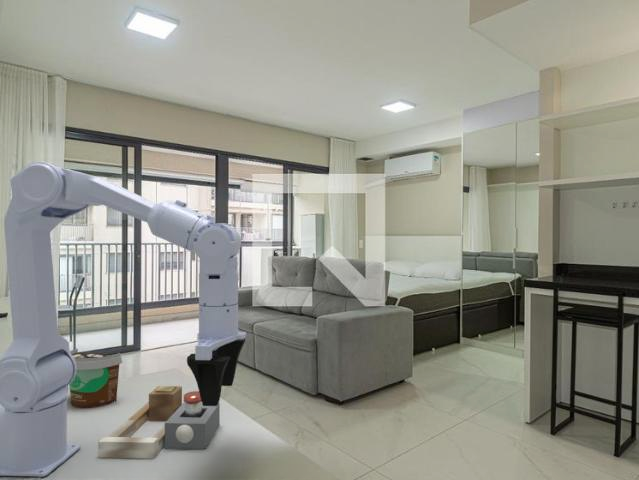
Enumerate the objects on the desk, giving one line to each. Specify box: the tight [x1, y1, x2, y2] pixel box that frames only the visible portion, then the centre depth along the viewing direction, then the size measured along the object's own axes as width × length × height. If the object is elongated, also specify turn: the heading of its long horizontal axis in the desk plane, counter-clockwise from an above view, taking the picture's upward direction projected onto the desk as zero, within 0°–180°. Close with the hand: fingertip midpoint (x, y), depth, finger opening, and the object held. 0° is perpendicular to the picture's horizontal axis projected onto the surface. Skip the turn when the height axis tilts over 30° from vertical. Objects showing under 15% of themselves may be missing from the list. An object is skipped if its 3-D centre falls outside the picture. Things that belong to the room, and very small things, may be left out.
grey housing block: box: [164, 402, 221, 450], centre depth 68 cm, size 6×8×4 cm
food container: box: [68, 348, 123, 409], centre depth 81 cm, size 12×6×10 cm, turn 73°
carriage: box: [148, 385, 183, 422], centre depth 76 cm, size 5×4×5 cm
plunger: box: [183, 390, 202, 418], centre depth 68 cm, size 3×3×5 cm
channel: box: [97, 401, 185, 459], centre depth 70 cm, size 9×18×2 cm, turn 178°
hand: (218, 394), depth 60 cm, fingers open, 7 cm apart
